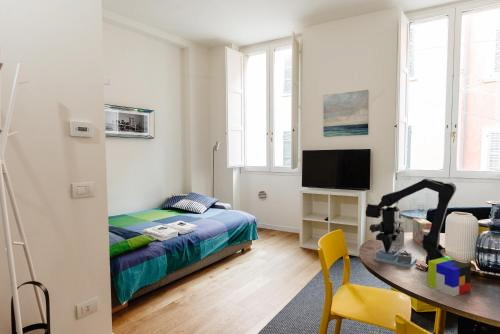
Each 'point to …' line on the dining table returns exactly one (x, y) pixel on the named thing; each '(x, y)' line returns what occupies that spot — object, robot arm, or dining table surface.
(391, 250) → the engine block
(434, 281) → the puzzle toy
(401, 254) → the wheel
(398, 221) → the french press
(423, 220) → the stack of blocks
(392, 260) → the chassis
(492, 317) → the dining table surface
